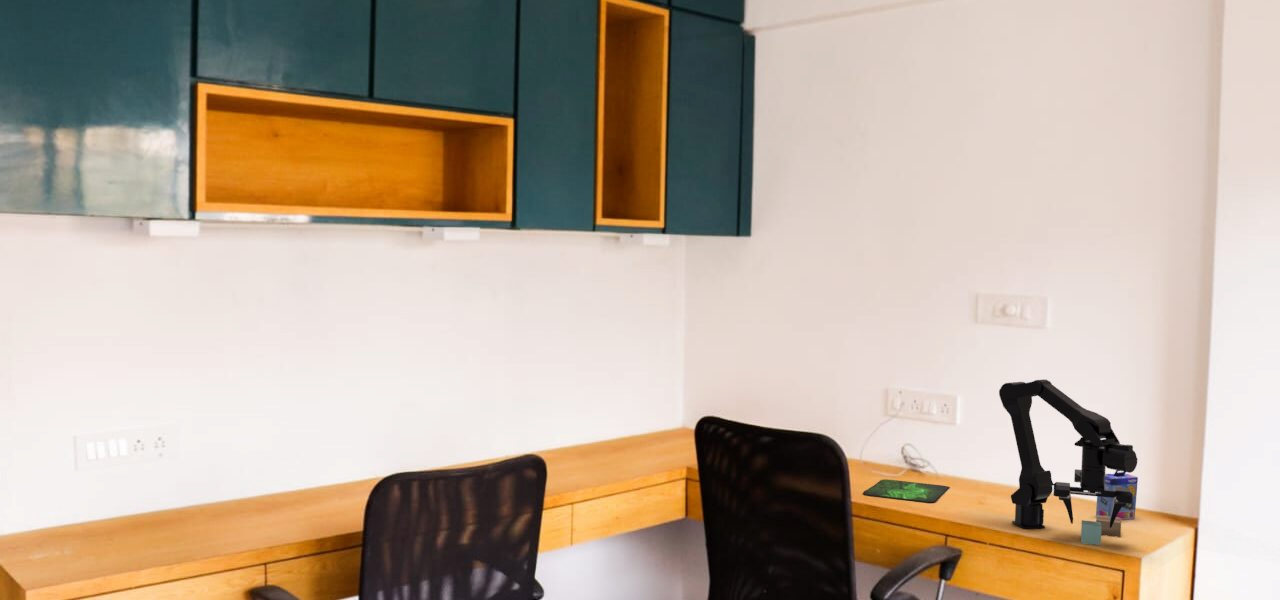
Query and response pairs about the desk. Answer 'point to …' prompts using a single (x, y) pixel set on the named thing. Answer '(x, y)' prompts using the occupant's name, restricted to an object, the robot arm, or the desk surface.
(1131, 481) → the ink cartridge box
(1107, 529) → the walnut block
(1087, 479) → the robot arm
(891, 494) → the mouse mat
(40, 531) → the desk surface
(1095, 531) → the teal block
